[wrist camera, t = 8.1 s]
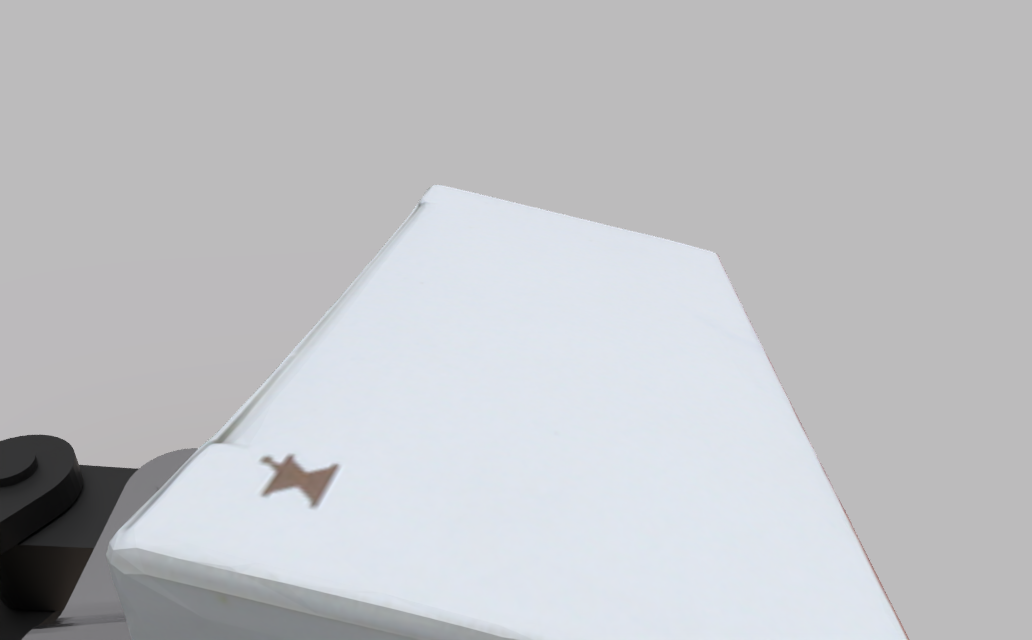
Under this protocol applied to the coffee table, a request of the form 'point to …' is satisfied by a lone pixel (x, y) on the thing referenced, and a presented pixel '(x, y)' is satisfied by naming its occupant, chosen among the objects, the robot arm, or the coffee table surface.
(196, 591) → the small box
